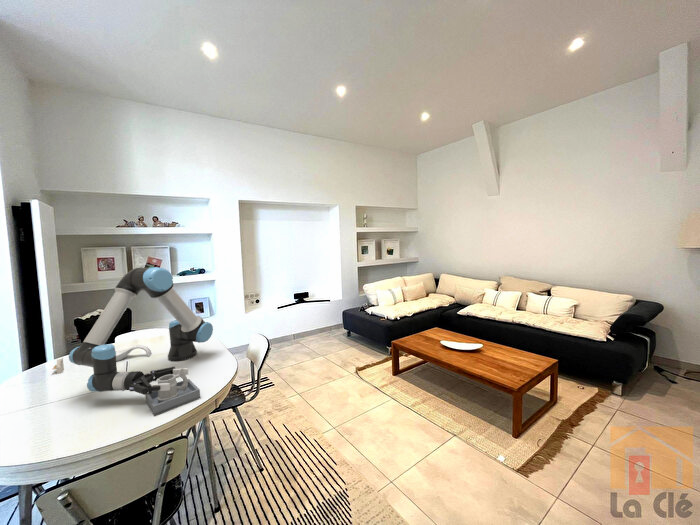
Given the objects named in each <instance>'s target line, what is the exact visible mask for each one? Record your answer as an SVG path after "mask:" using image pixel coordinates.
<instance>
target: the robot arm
mask: <svg viewBox="0 0 700 525" xmlns="http://www.w3.org/2000/svg"><path fill="white" fill-rule="evenodd" d="M173 279H174V277H173V275H172V273H171V272H170V271H169V270H168V269H166V268H163V267H157V266H155V267H141V266H139V267H135V268H133V269H131V270H129V271H128V272H127V273H126V274H124V276H123V277H122V278H121V279H120V280H119V281H118V283H117V285H116V286H115V287H114V291H115V292H113V295H112V296H111V298H110V299H109V301H108V303H107V304H106V306H105V307H104V309H103V311H102V312H101V314H100V315H99V316H98V319H96V321H95V323H94V324H93V326H92V327H91V329H90V331H89V332H88V334H87V335H86V337H85V338H84V340H83V341H82V343H81V344H80V346H77V347H75V348H73V349H72V350H71V351H70V352H69V355H68V360H69V362H70V363H72V364H74V365H77V366H84V367H91V368H93V369H92V370H93V374H92V375H90V376H89V377H88V379H87V383H86V387H87V389H88V391H90V392H98V393H99V392H100V393H102V392H113V391H115V392H117V391H122V392H125V391H129V392H134V393H137V394H140V395H144V396H145V395H146V394H147V393H148V392H149V394H152V391H169V390H170V383H162V384H158V383H153V384H151V383H152V382H156V381H158V379H159V378H160V377H162V376H165V375H169V374H173V375H178V374H179V371H180V369H181V368H176V366H171V367H166V368H160V369H156V370H150V371H149V372H150V373H144V372H142V371H140V370H137V371H118V368H117V361H116V347H115V345H114V344H111V343H108V344H107V342H108V339H109V338H110V336H111V334H112V332H113V331H114V329H115V328H116V326H117V325H118V323H119V321H120V320H121V318H122V316H123V314H124V313H125V311H126V310H127V308H128V307H129V305H130V303H131V302H132V300H133V299H134V298H136V297H137V296H138V295H139V293H140V292H142V291H144V292H146V294H147V295H149V297H150V298H151V299H157V300H158V302H159V303H160V304H161V305H162V306H163V307H164V308H165V310H167V311H168V313H169V314H171V316H172V317H173V318H174V320H171V321H170V322H169V323H168V324H169V325H168V330H169V332H168V333H169V341H170V342H169V343H170V347H169V350H168V354H167V360H168V361H170V362H181V361H187V360H189V358H190V359H191V357H192V358H194V357H196V355H198V354H197V353H198V352H197V348H196V346H195V344H194V343H198V344H199V343H205V342H208V341H209V340H210V339H211V337H212V335H213V331H214V327H213V324H212V323H211V322H209V321H205V320H204V319H203V318H202V317H201V316H200V315H196V314H195V313H194V312H193V310H192V309H191V308H190V307H189V306H188V304H187V303H186V302H185V301H184V300H183V298H182V297H181V296H180V295H179V294H178V293H177V292H176V289H174V286H175V284H174V280H173ZM193 356H194V357H193ZM183 372H184V373H185V375H186V376H188V375H189V368H187V367H186V368H183Z"/></svg>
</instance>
